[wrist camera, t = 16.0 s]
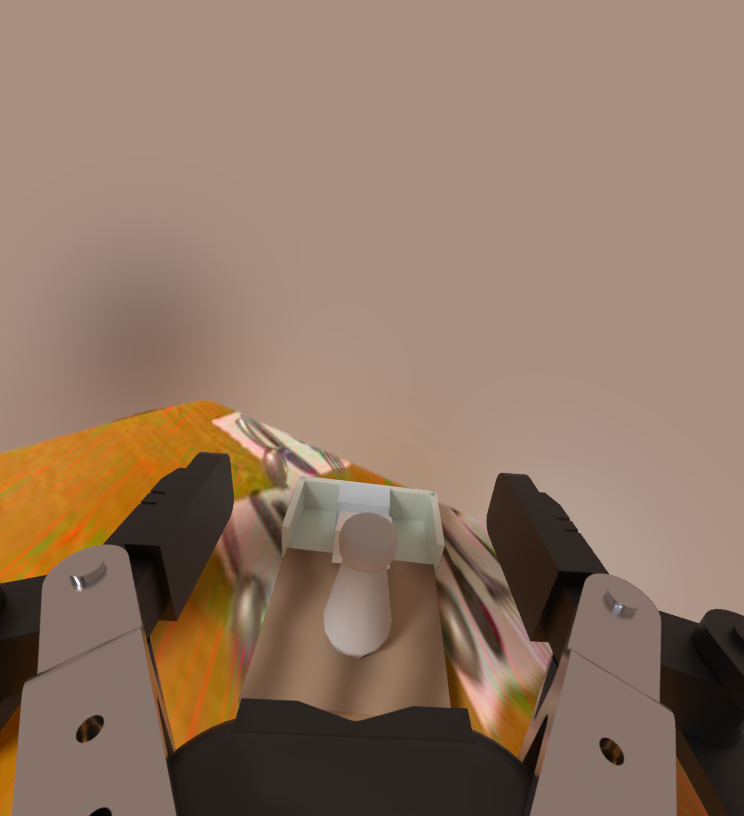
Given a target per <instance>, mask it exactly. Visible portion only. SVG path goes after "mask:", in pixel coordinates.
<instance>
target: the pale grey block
mask: <svg viewBox="0 0 744 816" xmlns="http://www.w3.org/2000/svg"><path fill="white" fill-rule="evenodd" d="M389 509H390V487H383V486H374V485H366V484H357V483H348V482H341V485H340V491H339V496H338V501H337V513H336V525H337V521H338V516H339V512H340V511H347V512H356V513H365V512H368V513H376V514H378V515H382V516H388V515H389ZM335 530H336V526H335Z"/></svg>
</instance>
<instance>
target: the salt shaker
mask: <svg viewBox="0 0 744 816" xmlns="http://www.w3.org/2000/svg"><path fill="white" fill-rule="evenodd" d="M397 546H398V535H397V532H396V528H395V526H394V525H393V524H392V523H391V522H390V521H389V520H388V519H387V518H385V517H383V516H381V515H378V514H376V513H368V512H365V513H360V514H356V515H353V516H352V517H350V518H349V519H348V520H346V521H345V523H344V525H343V527H342V529H341V531H340V534H339V549H340V554H341V556H342V558H343V559H342V562H341V565H340V568H339V571H338V573H337V576H336V579H335V582H334V585H333V587H332V590H331V593H330V596H329V599H328V601H327V604H326V607H325V610H324V613H323V614H324V629H325V633H326V635H327V637H328V638H329V640H330V642H331V644H332V645H333V647H334V648H335V649H336V651H337V652H339V653H342V654H344V655H347V656H350V657H352V658H355V659H360V658H361V657H363V656H364V655H367V654H370V653H372V652H375V651H377V650H378V648H379V647H380V646H381V645H382V644H383V643H384V642H385V641H386V640H387V638H388V636H389V631H390V627H391V623H392V618H391V608H390V597H389V587H388V577H387V566H388V565H389V564H390V563H391V562H392V561H393V560H394V557H395V553H396V549H397Z"/></svg>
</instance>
